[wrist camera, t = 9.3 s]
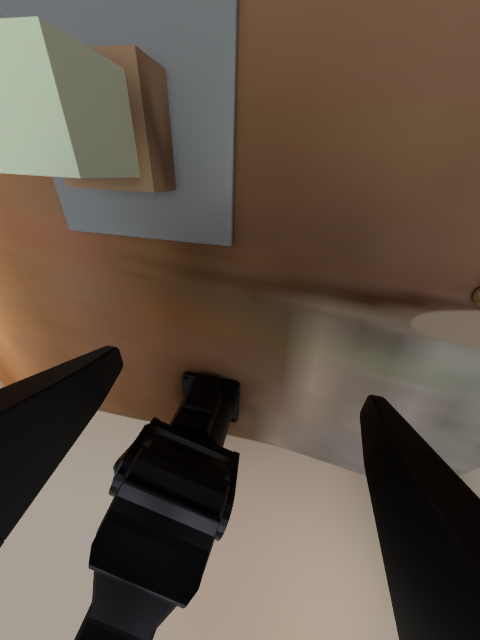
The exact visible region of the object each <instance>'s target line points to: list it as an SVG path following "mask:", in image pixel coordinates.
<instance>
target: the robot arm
mask: <svg viewBox="0 0 480 640" xmlns="http://www.w3.org/2000/svg"><path fill="white" fill-rule="evenodd" d="M122 368H123V361H122V358H121V354H120V351H119V349H118V348H117V347H113V346H104V347H102V348H99V349H97V350H94V351H92V352H90V353H87V354H85V355H82V356H80V357H77V358H75V359H72V360H70V361H67V362H65V363H62V364H60V365H57V366H55V367H53V368H50V369H48V370H45V371H43V372H40V373H38V374H35V375H33V376H30V377H28V378H25V379H23V380H20V381H18V382H16V383H13V384H11V385H8V386H6V387H3V388H1V389H0V547H1V545H2V544H3V543H4V540H5V539H6V538H7V537H8V535H9V534H10V533H11V531H12V530H13V528H14V527H15V526H16V524H17V523H18V521H19V520H20V518H21V517H22V516H23V514H24V513H25V511H26V510H27V509H28V507H29V506H30V504H31V503H32V502H33V500H34V499H35V497H36V496H37V495H38V493H39V492H40V490H41V489H42V488H43V486H44V484H45V483H46V482H47V480H48V479H49V478H50V476H51V475H52V474H53V472H54V471H55V469H56V468H57V467H58V465H59V463H60V462H61V461H62V460H63V458H64V457H65V455H66V454H67V452H68V451H69V450H70V448H71V447H72V445H73V444H74V443H75V441H76V440H77V438H78V437H79V436H80V434H81V433H82V431H83V430H84V429H85V427H86V426H87V424H88V423H89V422H90V420H91V419H92V417H93V416H94V415H95V413H96V412H97V410H98V409H99V407H100V406H101V404H102V403H103V401H104V400H105V398H106V396H107V394H108V393H109V391H110V389H111V388H112V386H113V384H114V382H115V381H116V379H117V377H118V375H119V374H120V372H121V370H122ZM186 376H187V377H186ZM182 383H183V391H184V398H183V399H182V401H181V403H180V405H179V407H178V409H177V411H176V413H175V415H174V416H173V418H172V420H171V422H170V424H167V423H164V422H162V421H160V419H158V418H155V417H154V418H153V419H152V421H151V422H150V424H147V425H145V426H144V428H143V429H142V431H141V432H140V434H139V436H138V437H137V438H136V440H135V441H134V442H133V444H132V445H131V446H130V447H129V448H128V449H127V450H126V451H125V452H124V453H123V454H122V456H121V457H120V458H119V459H118V460H117V461H116V463H115V465H114V467H113V469H114V474H115V476H114V478H113V482H112V485H111V487H110V491H109V495H111V496H114V499H113V501H112V503H111V505H110V507H109V509H108V511H107V513H106V515H105V517H104V519H103V521H102V523H101V525H100V527H99V529H98V531H97V534H96V537H95V539H94V541H93V543H92V546H91V552H90V559H89V569H91V570H94V580H93V598H92V603H91V605H90V607H89V610H88V612H87V614H86V616H85V618H84V620H83V622H82V625H81V627H80V629H79V631H78V633H77V635H76V637H75V639H74V640H153V637H154V634H155V631H156V629H157V627H158V626H159V625H160V624H161V623H162V622H163V621H164V620H165V619H166V617H167V616H168V615H169V614H170V613H171V612H172V610H174V608H175V607H176V606H179V607H181V608H185V607H186V606H187V605H188V603H189V602H190V600H191V599H192V598H193V596H194V595H195V594H196V592H197V591H198V589H199V586H200V582H201V579H202V575H203V572H204V570H205V567H206V563H207V561H208V557H209V554H210V552H211V548H212V546H213V543H214V539H215V540H217V541H219V540H220V539H221V537H222V535H223V534H224V531H225V529H226V527H227V524H228V521H229V518H230V514H231V511H232V507H233V502H234V497H235V489H236V480H237V472H238V463H239V455H240V454H239V453H237V452H235V451H234V452H232V451H230V450H228V449H225V448H223V445H224V441H225V438H226V435H227V431H228V428H229V424H230V422H233V423H236V422H237V420H238V412H239V395H240V384H239V383H238V382H236V381H230V380H225V379H220V378H215V377H210V376H205V375H199V374H194V373H189V372H184V373H183V375H182ZM235 386H236V387H235ZM360 424H361V436H362V447H363V458H364V466H365V472H366V477H367V482H368V487H369V492H370V497H371V502H372V507H373V512H374V517H375V521H376V527H377V531H378V537H379V542H380V547H381V552H382V556H383V562H384V566H385V571H386V577H387V581H388V586H389V591H390V596H391V601H392V606H393V611H394V616H395V621H396V626H397V631H398V636H399V640H480V498H479V497H478V496H477V495H476V494H475V493H474V492H473V491H472V490H471V489H470V488H469V487H468V486H467V485H466V484H465V483H464V482H463V480H462V479H461V478H460V477H459V476H458V475H457V474H456V473H455V472H454V471H453V470H452V469H451V468H450V467H449V466H448V465H447V463H446V462H445V461H444V460H443V459H442V458H441V457H440V456H439V455H438V454H437V453H436V452H435V451H434V450H433V449H432V448H431V447H430V446H429V444H428V443H427V442H426V441H425V440H424V439H423V438H422V437H421V436H420V435H419V434H418V433H417V432H416V431H415V430H414V429H413V428H412V426H411V425H410V424H409V423H408V422H407V421H406V420H405V419H404V418H403V417H402V416H401V415H400V414H399V413H398V412H397V411H396V410H395V409H394V407H393V406H392V405H391V404H390V403H389V402H388V401H387V400H386V399H385V398H384V397H381V396H376V395H369V396H368V397H367V399H366V401H365V403H364V405H363V407H362V409H361V412H360Z"/></svg>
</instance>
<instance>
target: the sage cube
mask: <svg viewBox="0 0 480 640" xmlns="http://www.w3.org/2000/svg"><path fill="white" fill-rule="evenodd" d="M0 173H6V174H21V175H37V176H52V177H67V178H140V170H139V163H138V156H137V150H136V143H135V136H134V130H133V123H132V116H131V110H130V103H129V96H128V90H127V83H126V76H125V70H124V68H123V67H121V66H120V65H118V64H116V63H115V62H113V61H111V60H110V59H108V58H106V57H105V56H103V55H101V54H100V53H98V52H96V51H95V50H93V49H91V48H90V47H88V46H86V45H85V44H83V43H81V42H80V41H78V40H76V39H75V38H73V37H71V36H70V35H68V34H66V33H65V32H63V31H62V30H60V29H58V28H57V27H55V26H53V25H52V24H50V23H48V22H47V21H45V20H43V19H42V18H40V17H38V16H33V17H17V18H0Z"/></svg>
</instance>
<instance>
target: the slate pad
mask: <svg viewBox="0 0 480 640" xmlns="http://www.w3.org/2000/svg"><path fill="white" fill-rule="evenodd" d="M238 13H239V0H0V14H1V17H2V18H17V17H33V16H38V17H40V18H42V19H43V20H45V21H47V22H48V23H50V24H52V25H53V26H55V27H57V28H58V29H60V30H62V31H63V32H65V33H66V34H68V35H70V36H71V37H73V38H75V39H76V40H78V41H80V42H81V43H83V44H85V45H86V46H88V47H91V46H115V45H136V46H137V47H138V48H140V49H141V50H142V51H143V52H145V53H146V54H147V55H149V56H150V57H151V58H152V59H154V60H155V61H156V62H158V63H159V64H160V65H161V66H163V67H164V68H165V69H166V77H167V89H168V100H169V112H170V123H171V135H172V146H173V157H174V169H175V180H176V190H172V191H164V192H155V193H152V192H137V191H122V190H107V189H92V188H77V187H67V185H66V182H65V179H64V177H53V180H54V183H55V186H56V189H57V192H58V196H59V199H60V202H61V205H62V208H63V211H64V214H65V217H66V221H67V224H68V227H69V230H73V231H83V232H93V233H102V234H112V235H122V236H132V237H142V238H152V239H162V240H172V241H182V242H192V243H201V244H211V245H221V246H232V245H233V212H234V172H235V132H236V93H237V53H238Z"/></svg>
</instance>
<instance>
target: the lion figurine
mask: <svg viewBox="0 0 480 640" xmlns="http://www.w3.org/2000/svg"><path fill="white" fill-rule="evenodd" d="M473 300H474V301H475V303H476V304H478V305H479V306H480V288H478V289H477V290H476V291H475V292H474V294H473Z"/></svg>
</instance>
